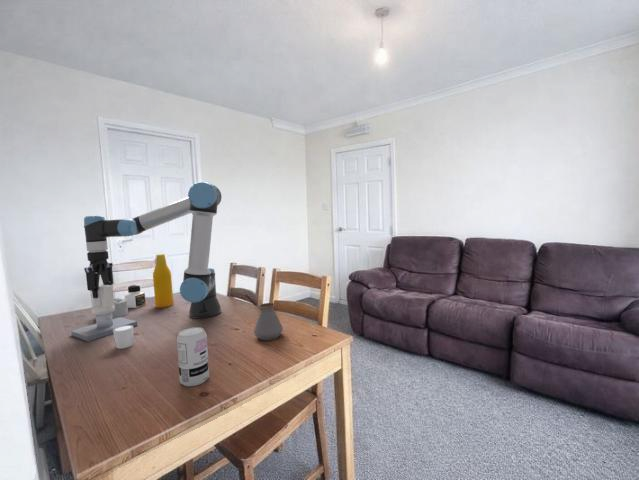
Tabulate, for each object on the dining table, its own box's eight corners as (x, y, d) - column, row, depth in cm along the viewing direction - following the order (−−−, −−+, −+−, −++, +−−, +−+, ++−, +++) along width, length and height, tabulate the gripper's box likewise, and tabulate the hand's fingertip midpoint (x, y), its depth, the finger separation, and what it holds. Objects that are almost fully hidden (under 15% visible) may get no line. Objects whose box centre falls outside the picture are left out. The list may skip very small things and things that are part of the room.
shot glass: (139, 342, 125) (137, 325, 124) (123, 350, 118) (121, 332, 118) (126, 341, 127) (124, 324, 126) (110, 348, 121) (108, 330, 120)
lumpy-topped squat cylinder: (97, 316, 163) (95, 300, 162) (126, 310, 171) (125, 295, 170) (99, 321, 155) (97, 304, 154) (129, 315, 163) (128, 298, 162)
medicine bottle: (136, 308, 175) (134, 287, 174) (125, 307, 176) (123, 286, 175) (145, 304, 182) (144, 284, 181) (135, 304, 183) (133, 284, 182)
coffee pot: (289, 335, 126) (287, 298, 124) (265, 345, 118) (263, 305, 116) (258, 324, 141) (256, 291, 139) (235, 331, 132) (233, 296, 131)
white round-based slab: (120, 310, 142) (117, 284, 141) (101, 316, 134) (98, 288, 133) (104, 308, 147) (101, 282, 146) (84, 313, 139) (81, 287, 138)
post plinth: (137, 325, 145) (135, 308, 145) (87, 341, 128) (85, 322, 128) (120, 320, 153) (119, 304, 153) (71, 335, 136) (69, 317, 136)
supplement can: (185, 374, 98) (181, 327, 97) (212, 372, 98) (209, 325, 97) (175, 388, 90) (171, 337, 88) (205, 386, 90) (201, 335, 89)
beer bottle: (176, 302, 183) (172, 253, 180) (169, 307, 173) (164, 255, 171) (160, 303, 182) (156, 253, 180) (152, 308, 173) (147, 256, 171)
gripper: (104, 249, 147) (109, 298, 149) (72, 254, 129) (78, 309, 131) (119, 248, 146) (124, 297, 148) (89, 253, 129) (95, 309, 131)
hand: (102, 303), depth 140 cm, fingers closed on white round-based slab, 5 cm apart
